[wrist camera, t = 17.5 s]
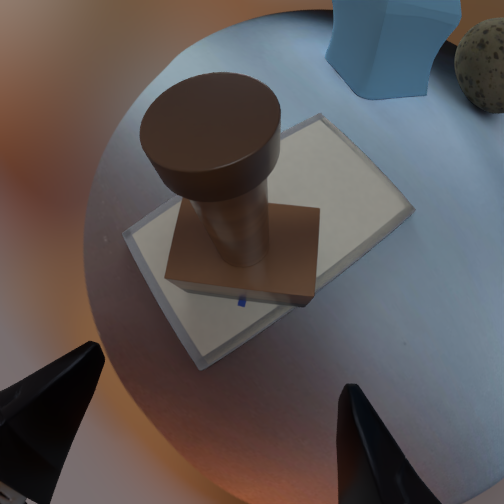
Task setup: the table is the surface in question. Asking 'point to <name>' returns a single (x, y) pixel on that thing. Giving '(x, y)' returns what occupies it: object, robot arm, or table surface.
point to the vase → (389, 44)
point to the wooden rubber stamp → (229, 192)
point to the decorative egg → (482, 65)
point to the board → (281, 192)
